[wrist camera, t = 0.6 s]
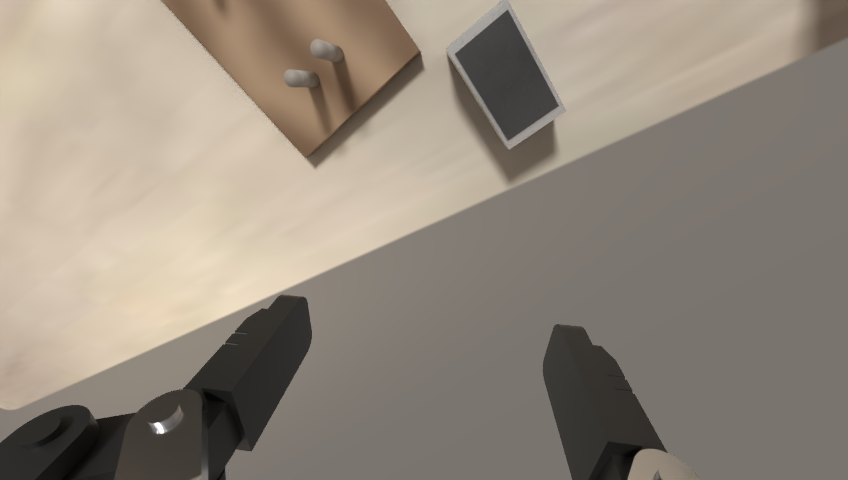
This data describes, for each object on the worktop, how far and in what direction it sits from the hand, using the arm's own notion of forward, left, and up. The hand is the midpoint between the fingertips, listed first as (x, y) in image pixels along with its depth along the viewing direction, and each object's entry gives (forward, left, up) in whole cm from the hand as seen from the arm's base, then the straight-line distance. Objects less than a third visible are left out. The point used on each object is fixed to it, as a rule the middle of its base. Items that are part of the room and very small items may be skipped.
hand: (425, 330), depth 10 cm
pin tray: (+3, -19, -23) cm, 30 cm away
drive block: (-8, -3, -23) cm, 25 cm away
